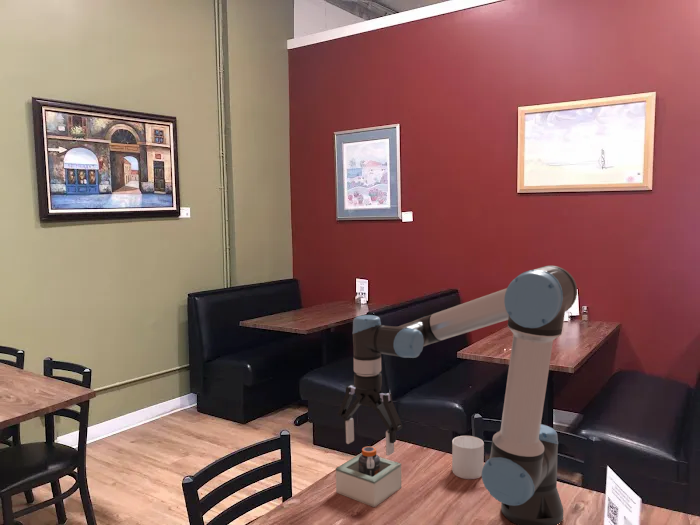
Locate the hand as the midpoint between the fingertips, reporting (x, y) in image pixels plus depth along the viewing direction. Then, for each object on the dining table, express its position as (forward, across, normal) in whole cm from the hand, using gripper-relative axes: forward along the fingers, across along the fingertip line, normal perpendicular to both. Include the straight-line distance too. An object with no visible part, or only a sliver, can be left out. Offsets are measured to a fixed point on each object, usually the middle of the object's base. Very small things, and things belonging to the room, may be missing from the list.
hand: (369, 447), depth 158 cm
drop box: (+12, +1, 0) cm, 12 cm away
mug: (+13, -16, -27) cm, 34 cm away
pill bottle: (+12, 0, 0) cm, 12 cm away
